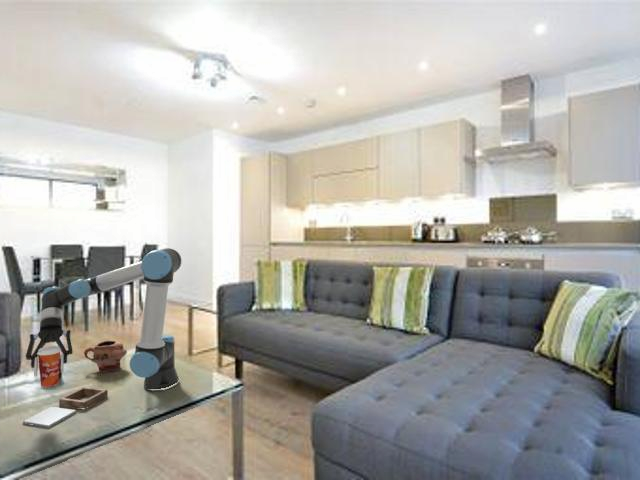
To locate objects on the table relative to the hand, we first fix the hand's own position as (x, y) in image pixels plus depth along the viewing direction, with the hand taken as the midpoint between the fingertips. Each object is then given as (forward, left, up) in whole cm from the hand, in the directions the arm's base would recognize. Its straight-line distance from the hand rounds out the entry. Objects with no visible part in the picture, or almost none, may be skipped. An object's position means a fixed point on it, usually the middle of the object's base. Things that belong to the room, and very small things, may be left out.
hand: (48, 372), depth 149 cm
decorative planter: (+19, -49, -19) cm, 55 cm away
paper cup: (+2, -3, -6) cm, 7 cm away
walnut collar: (+1, -17, -19) cm, 25 cm away
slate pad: (+2, -2, -19) cm, 19 cm away
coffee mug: (+35, -35, -19) cm, 53 cm away
